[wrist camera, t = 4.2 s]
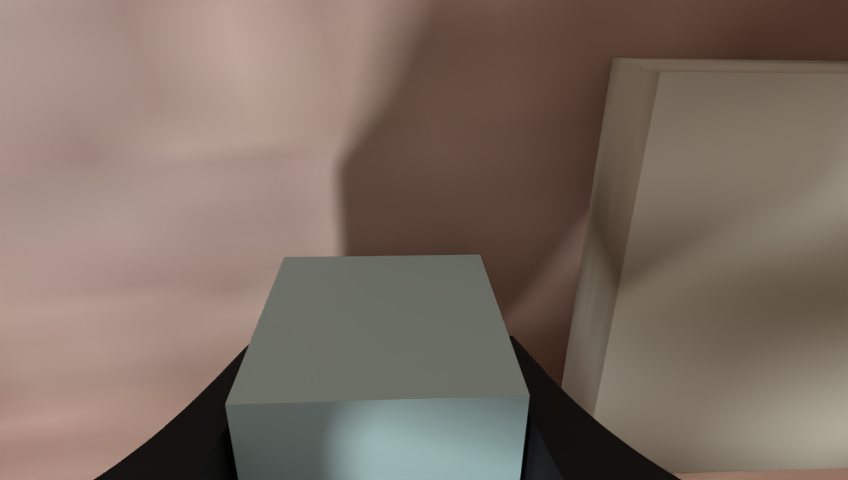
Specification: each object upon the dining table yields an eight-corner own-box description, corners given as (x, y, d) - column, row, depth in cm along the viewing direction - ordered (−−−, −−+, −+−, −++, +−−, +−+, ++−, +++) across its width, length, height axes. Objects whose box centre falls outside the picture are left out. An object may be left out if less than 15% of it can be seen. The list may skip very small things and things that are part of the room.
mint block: (470, 406, 15) (507, 588, 10) (300, 411, 14) (259, 601, 10) (480, 254, 13) (529, 395, 8) (284, 257, 13) (225, 404, 8)
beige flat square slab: (867, 395, 19) (949, 464, 16) (553, 403, 18) (582, 476, 15) (1019, 61, 14) (1171, 77, 11) (605, 55, 13) (660, 71, 11)
